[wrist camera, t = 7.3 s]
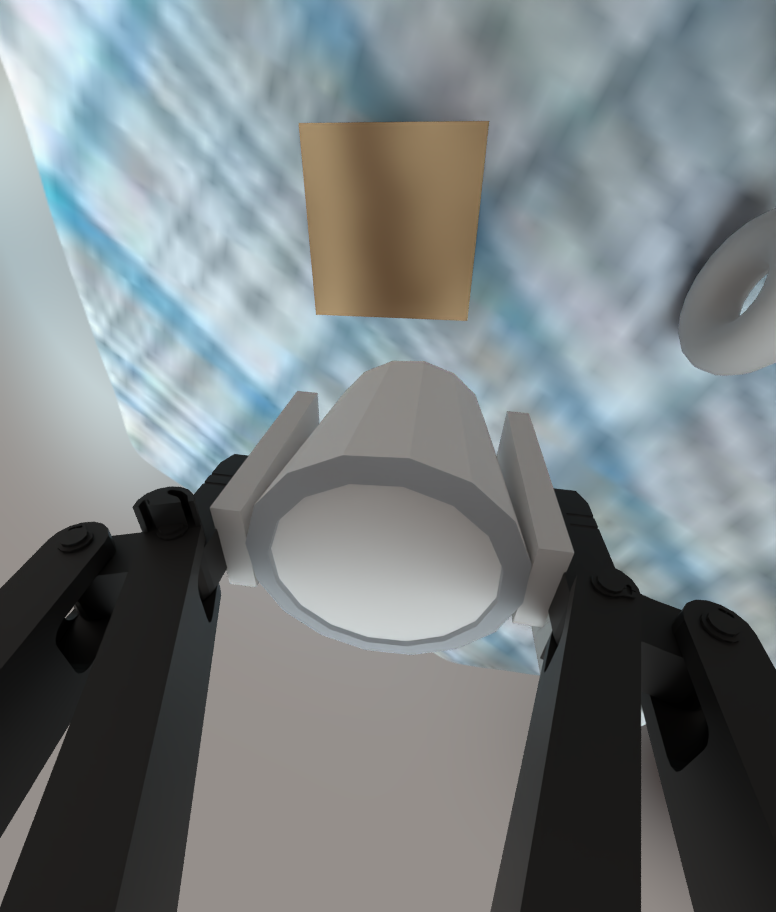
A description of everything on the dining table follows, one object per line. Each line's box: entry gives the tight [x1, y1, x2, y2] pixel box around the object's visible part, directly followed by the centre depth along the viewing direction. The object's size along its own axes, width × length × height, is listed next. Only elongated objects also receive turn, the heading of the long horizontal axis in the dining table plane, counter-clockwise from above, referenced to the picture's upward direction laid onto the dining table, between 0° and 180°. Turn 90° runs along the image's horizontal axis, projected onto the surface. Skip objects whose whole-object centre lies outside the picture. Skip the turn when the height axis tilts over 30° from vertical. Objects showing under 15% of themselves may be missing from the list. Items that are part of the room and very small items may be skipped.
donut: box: [678, 208, 776, 376], centre depth 25 cm, size 10×3×10 cm, turn 168°
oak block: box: [299, 121, 489, 321], centre depth 24 cm, size 9×9×5 cm
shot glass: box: [245, 361, 532, 655], centre depth 13 cm, size 7×7×7 cm
